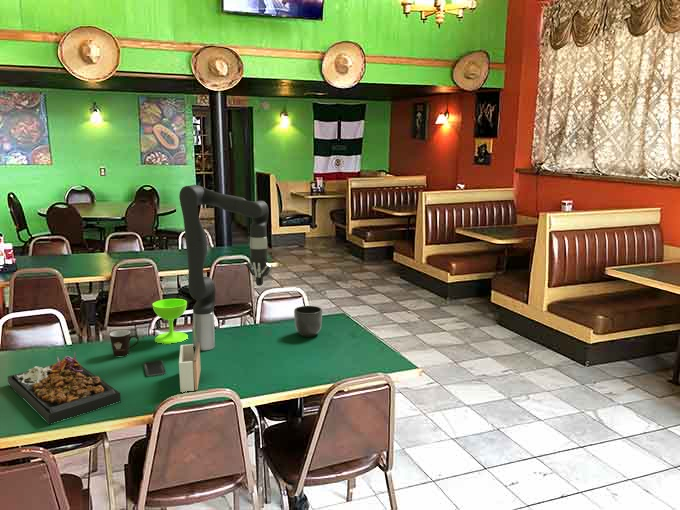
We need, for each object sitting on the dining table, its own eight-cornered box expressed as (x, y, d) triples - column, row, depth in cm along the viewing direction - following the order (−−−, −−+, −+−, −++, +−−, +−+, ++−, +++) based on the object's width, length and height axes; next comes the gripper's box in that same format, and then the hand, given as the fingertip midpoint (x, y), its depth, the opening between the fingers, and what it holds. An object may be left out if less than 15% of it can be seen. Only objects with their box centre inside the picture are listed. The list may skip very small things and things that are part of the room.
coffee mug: (106, 356, 249) (105, 334, 247) (121, 349, 257) (119, 329, 255) (127, 360, 244) (125, 338, 243) (141, 353, 252) (139, 332, 250)
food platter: (8, 386, 218) (5, 362, 216) (73, 369, 236) (71, 346, 234) (49, 427, 188) (46, 398, 186) (120, 403, 205) (118, 377, 203)
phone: (146, 375, 226) (143, 362, 240) (146, 378, 227) (143, 364, 240) (166, 372, 229) (162, 359, 243) (166, 375, 230) (162, 362, 243)
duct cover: (194, 390, 214) (193, 360, 212) (198, 370, 233) (196, 342, 230) (197, 389, 214) (196, 359, 212) (200, 370, 233) (199, 342, 231)
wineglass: (163, 332, 281) (161, 298, 277) (193, 334, 278) (192, 299, 275) (148, 343, 265) (146, 307, 262) (180, 345, 263) (178, 308, 259)
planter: (294, 330, 285) (293, 305, 283) (321, 329, 287) (321, 305, 284) (294, 339, 272) (294, 314, 269) (323, 338, 273) (323, 313, 271)
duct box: (180, 392, 212) (178, 363, 210) (182, 372, 232) (180, 345, 229) (194, 391, 214) (192, 362, 211) (194, 371, 233) (193, 344, 230)
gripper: (241, 246, 243) (242, 285, 246) (266, 249, 237) (267, 289, 240) (251, 244, 249) (252, 281, 253) (276, 246, 244) (276, 285, 247)
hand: (259, 285), depth 247 cm, fingers closed
